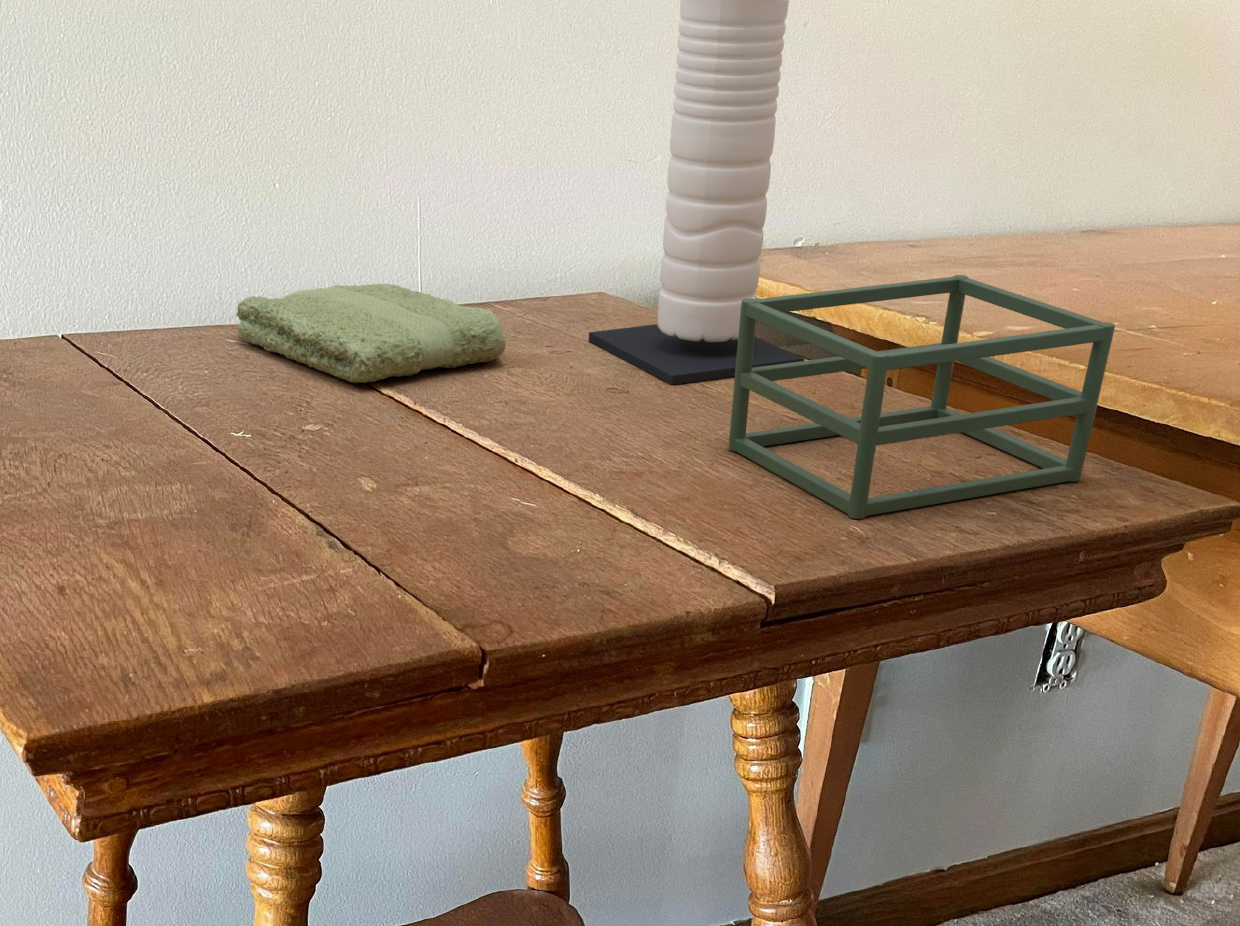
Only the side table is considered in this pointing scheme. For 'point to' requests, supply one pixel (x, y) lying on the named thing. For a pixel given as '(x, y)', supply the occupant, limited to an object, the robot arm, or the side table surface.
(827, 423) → the green open frame box
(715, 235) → the water bottle
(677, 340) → the mat
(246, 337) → the washcloth
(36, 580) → the side table surface
